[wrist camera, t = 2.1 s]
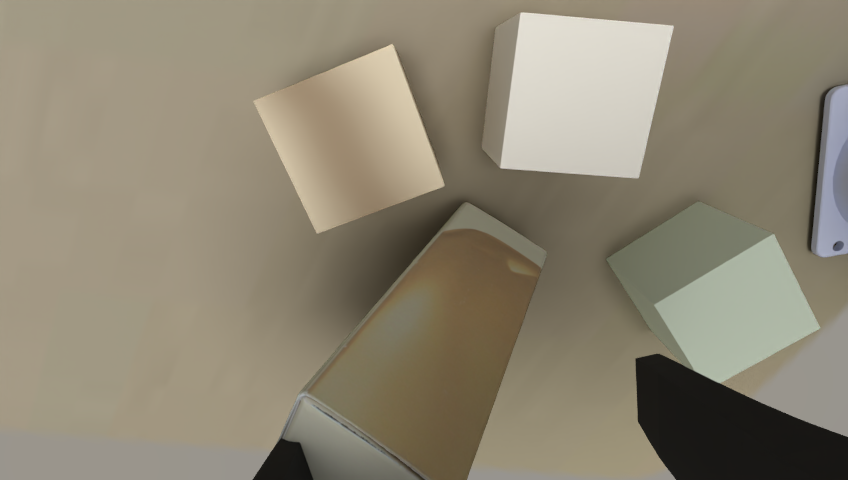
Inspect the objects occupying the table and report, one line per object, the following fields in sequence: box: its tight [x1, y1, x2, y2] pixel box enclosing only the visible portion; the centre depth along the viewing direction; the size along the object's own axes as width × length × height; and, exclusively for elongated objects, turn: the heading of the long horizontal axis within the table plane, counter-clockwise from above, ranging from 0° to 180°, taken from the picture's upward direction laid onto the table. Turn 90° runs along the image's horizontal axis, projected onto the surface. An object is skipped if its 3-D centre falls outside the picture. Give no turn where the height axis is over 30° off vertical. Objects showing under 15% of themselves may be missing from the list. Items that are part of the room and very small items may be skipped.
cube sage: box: [606, 201, 820, 383], centre depth 21 cm, size 5×5×5 cm
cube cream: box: [482, 12, 674, 178], centre depth 18 cm, size 5×5×5 cm
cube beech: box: [254, 44, 445, 234], centre depth 19 cm, size 5×5×5 cm
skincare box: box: [276, 202, 547, 480], centre depth 17 cm, size 6×4×12 cm
